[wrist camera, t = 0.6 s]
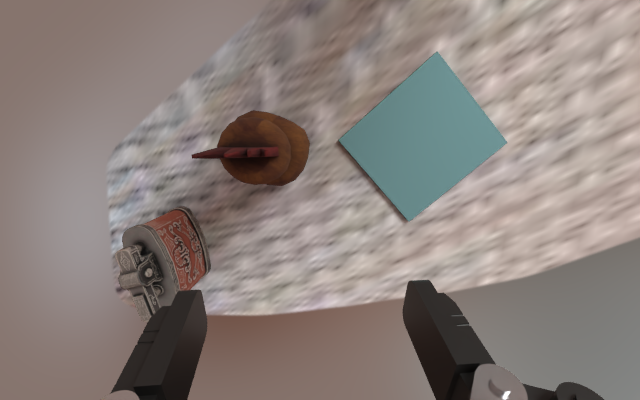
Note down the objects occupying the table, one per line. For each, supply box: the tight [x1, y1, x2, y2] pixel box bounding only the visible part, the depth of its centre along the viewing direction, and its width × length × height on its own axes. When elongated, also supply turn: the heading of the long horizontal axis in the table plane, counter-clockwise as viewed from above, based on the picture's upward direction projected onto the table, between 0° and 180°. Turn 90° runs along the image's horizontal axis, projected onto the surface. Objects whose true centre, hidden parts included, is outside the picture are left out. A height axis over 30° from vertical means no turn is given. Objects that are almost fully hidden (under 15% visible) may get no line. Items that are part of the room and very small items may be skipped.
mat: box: [339, 52, 507, 221], centre depth 29 cm, size 12×11×1 cm
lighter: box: [115, 206, 211, 322], centre depth 28 cm, size 8×3×10 cm, turn 15°
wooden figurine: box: [192, 110, 310, 186], centre depth 23 cm, size 7×6×15 cm
